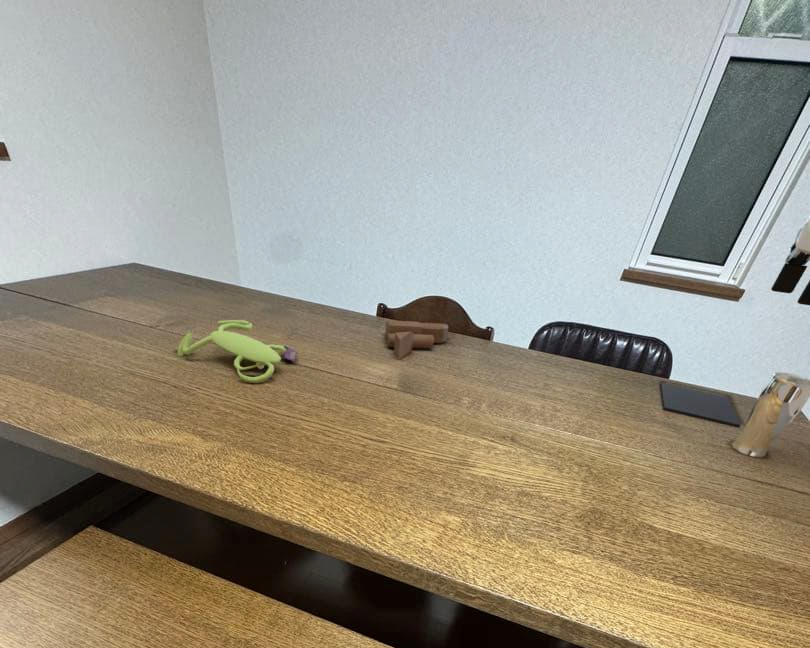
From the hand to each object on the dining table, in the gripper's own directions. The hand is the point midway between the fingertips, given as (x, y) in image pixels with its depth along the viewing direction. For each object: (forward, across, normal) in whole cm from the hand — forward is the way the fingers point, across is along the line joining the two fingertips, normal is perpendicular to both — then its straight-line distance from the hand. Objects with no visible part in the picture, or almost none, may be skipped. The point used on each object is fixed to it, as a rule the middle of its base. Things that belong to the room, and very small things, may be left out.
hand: (793, 298), depth 72 cm
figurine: (+27, +3, +100) cm, 104 cm away
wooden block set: (+27, +31, +64) cm, 76 cm away
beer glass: (+27, +1, -8) cm, 29 cm away
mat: (+27, +25, -5) cm, 37 cm away
